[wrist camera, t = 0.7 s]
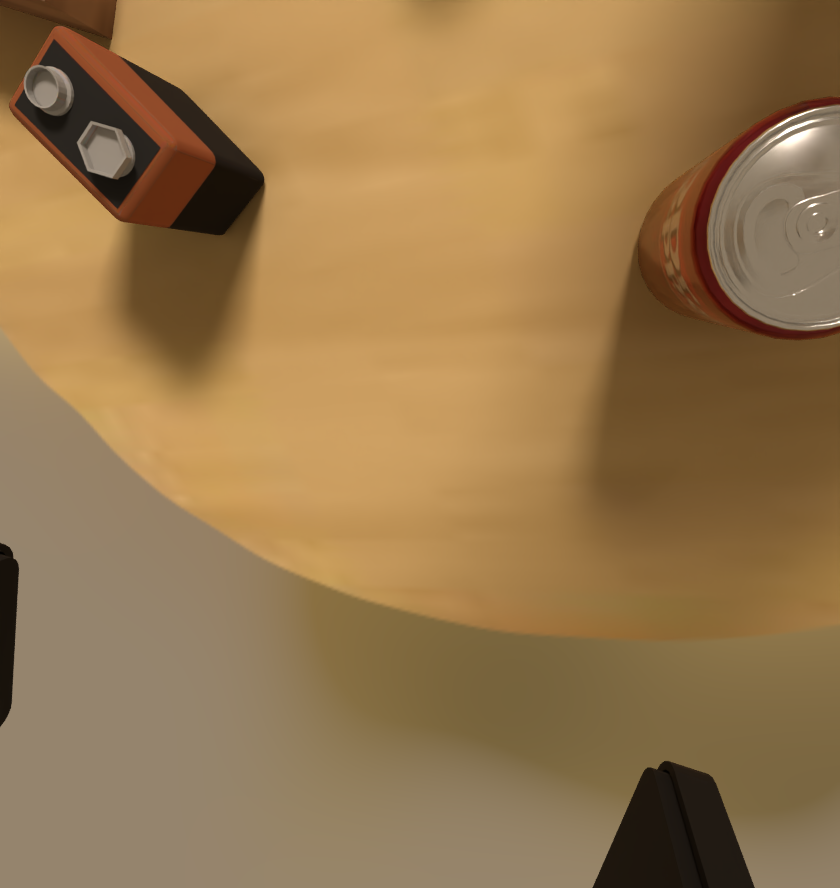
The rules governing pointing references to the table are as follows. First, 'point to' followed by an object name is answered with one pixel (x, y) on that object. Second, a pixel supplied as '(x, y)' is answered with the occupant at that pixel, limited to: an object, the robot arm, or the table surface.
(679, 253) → the soda can
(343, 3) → the table surface
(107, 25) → the walnut block
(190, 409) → the table surface
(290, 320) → the table surface
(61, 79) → the battery
